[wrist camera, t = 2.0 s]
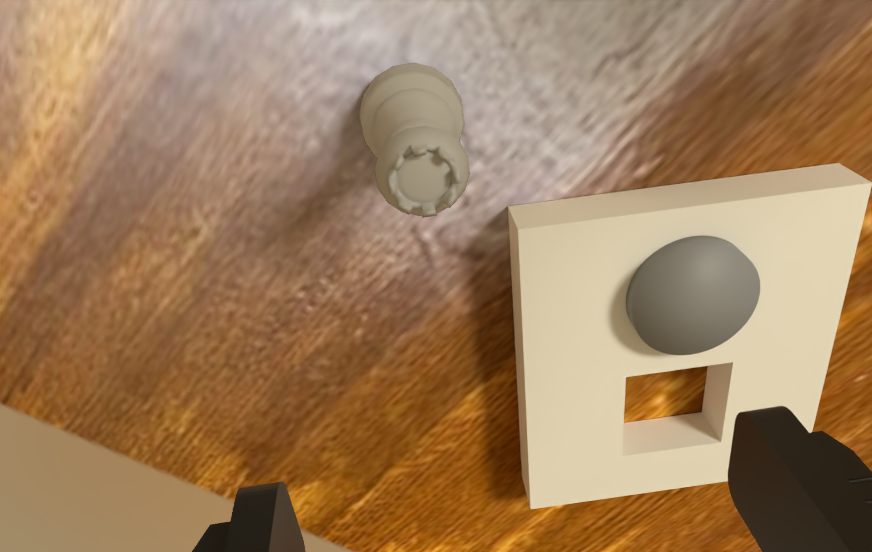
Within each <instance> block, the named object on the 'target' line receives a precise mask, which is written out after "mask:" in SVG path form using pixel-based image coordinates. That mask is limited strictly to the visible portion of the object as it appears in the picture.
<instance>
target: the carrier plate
mask: <svg viewBox="0 0 872 552" xmlns="http://www.w3.org/2000/svg"><path fill="white" fill-rule="evenodd" d="M871 186H872V182H870V181H868V180H867V179H865V178H863V177H862V176H860V175H858V174H856V173H855V172H853V171H851V170H850V169H848V168H846V167H844V166H843V165H841V164H839V163H835V164H827V165H820V166H812V167H804V168H797V169H789V170H781V171H774V172H766V173H759V174H751V175H743V176H736V177H728V178H720V179H713V180H705V181H698V182H690V183H682V184H675V185H667V186H659V187H652V188H644V189H637V190H629V191H621V192H614V193H606V194H598V195H591V196H583V197H576V198H568V199H560V200H553V201H545V202H537V203H530V204H522V205H515V206H508V220H509V239H510V258H511V277H512V296H513V315H514V334H515V353H516V373H517V392H518V411H519V430H520V449H521V468H522V479H523V482H524V486H525V490H526V494H527V498H528V501H529V505H530V509H536V508H543V507H550V506H557V505H564V504H571V503H578V502H585V501H592V500H599V499H606V498H613V497H620V496H627V495H634V494H641V493H648V492H655V491H662V490H669V489H676V488H683V487H690V486H696V485H703V484H710V483H717V482H724V481H728V467H729V460H730V453H731V446H732V439H733V431H734V424H735V419H736V416H737V414H738V413H740V412H744V411H751V410H757V409H764V408H770V407H777V406H785V407H787V408H788V409H789V410H791V411H792V413H793V414H794V415H795V416H796V417H797V419H798V420H799V421H800V422H801V423H802V425H803V426H804V427H805V428H806V429H807V431H808V432H809V433H812V430H813V426H814V422H815V417H816V413H817V409H818V405H819V401H820V397H821V393H822V388H823V384H824V380H825V376H826V372H827V368H828V364H829V360H830V355H831V351H832V347H833V343H834V339H835V335H836V331H837V326H838V322H839V318H840V314H841V310H842V306H843V302H844V297H845V293H846V289H847V285H848V281H849V277H850V273H851V269H852V264H853V260H854V256H855V252H856V248H857V244H858V240H859V235H860V231H861V227H862V223H863V219H864V215H865V211H866V207H867V202H868V198H869V194H870V190H871ZM702 366H708V367H707V375H706V383H705V391H704V399H703V406H702V412H699V413H691V414H684V415H677V416H670V417H663V418H656V419H649V420H642V421H634V422H627V423H624V403H625V384H626V377H630V376H637V375H644V374H651V373H659V372H666V371H673V370H680V369H688V368H695V367H702Z"/></svg>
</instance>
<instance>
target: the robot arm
mask: <svg viewBox="0 0 872 552" xmlns="http://www.w3.org/2000/svg"><path fill="white" fill-rule="evenodd" d="M728 484H729V489H730V493H731V496H732V499H733V502H734V504H735V506H736V508H737V510H738V512H739V513H740V515H741V517H742V518H743V520H744V522H745V523H746V525H747V527H748V528H749V530H750V532H751V533H752V535H753V537H754V538H755V540H756V541H757V543H758V545H759V546H760V548H761V550H762V551H763V552H872V472H871V471H870V470H869V468H868V467H867V466H866V465H865V464H864V463H863V462H862V460H861V459H860V458H859V457H858V456H857V455H856V454H855V452H854V451H853V450H851V449H850V448H848V447H847V446H845V445H843V444H842V443H840V442H839V441H837V440H836V439H834V438H833V437H831V436H829V435H828V434H826V433H825V432H823V431H818V432H812V433H809V432H808V431H807V429H806V428H805V427H804V426H803V425H802V423H801V422H800V421H799V420H798V419H797V417H796V416H795V415H794V414H793V413H792V411H791V410H789V409H788V408H787V407H785V406H777V407H770V408H764V409H757V410H751V411H744V412H740V413H738V414H737V416H736V419H735V424H734V431H733V439H732V446H731V453H730V460H729V467H728ZM192 552H305V546H304V541H303V537H302V534H301V531H300V528H299V525H298V522H297V518H296V515H295V512H294V509H293V506H292V503H291V500H290V497H289V494H288V491H287V488H286V485H285V484H284V482H276V483H270V484H263V485H257V486H251V487H244V488H240V489H239V490H238V492H237V494H236V498H235V502H234V507H233V512H232V517H231V521H230V522H225V523H218V524H212V525H210V526H209V527H208V529H207V530H206V532H205V533H204V535H203V536H202V538H201V539H200V541H199V542H198V544H197V545H196V547H195V548H194V549H193V551H192Z"/></svg>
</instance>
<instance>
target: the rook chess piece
mask: <svg viewBox="0 0 872 552" xmlns="http://www.w3.org/2000/svg"><path fill="white" fill-rule="evenodd" d="M359 117H360V122H361V127H362V132H363V136H364V141H365V142H366V144H367V145H368V147H369V148H370V150H371V151H372V153H373V154H374V156H375V157H376V158H377V163H376V167H375V176H376V181H377V186H378V189H379V190H380V192H381V193H382V195H383V196H384V198H385V199H386V201H387V202H388V203H389V204H391V205H392V206H394V207H395V208H397V209H398V210H400V211H402V212H404V213H407V214H408V215H409V214H414V215H419V216H422V217H429V216H435V215H437V213H439V212H440V211H442V210H444V209H446V208H447V207H449V208H450V207H451V206H452V205H453V204H454V203H455V202H456V200H457V199H458V198H459V197H460V196H461V194H462V193H463V192H464V191H465V188H466V185H467V181H468V178H469V175H470V171H469V162H468V155H467V154H466V152H465V150H464V149H463V147H462V145H461V144H460V142H459V141H460V138H461V134H462V131H463V127H464V117H463V109H462V102H461V97H460V96H459V94H458V92H457V90H456V88H455V87H454V85H453V83H452V81H451V80H450V79H448V78H447V77H446V76H444V75H443V74H442V73H440V72H439V71H438V70H436V69H435V68H432V67H428V66H424V65H420V64H416V63H410V64H404V65H398V66H393V67H391V68H390V69H388V70H386V71H385V72H383V73H381V74H380V75H378V76H377V77H375V78H374V80H373V81H372V83H371V84H370V86H369V87H368V88H367V90H366V91H365V93H364V94H363V98H362V103H361V107H360V112H359Z"/></svg>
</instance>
